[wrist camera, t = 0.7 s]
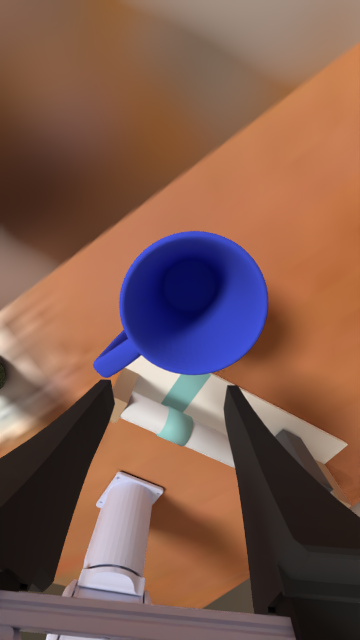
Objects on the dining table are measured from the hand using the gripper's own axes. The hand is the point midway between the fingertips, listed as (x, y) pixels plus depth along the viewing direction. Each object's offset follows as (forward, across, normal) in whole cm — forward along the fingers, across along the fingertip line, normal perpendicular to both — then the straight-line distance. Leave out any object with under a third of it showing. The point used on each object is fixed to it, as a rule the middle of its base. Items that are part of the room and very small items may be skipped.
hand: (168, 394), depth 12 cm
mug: (+11, 0, -3) cm, 11 cm away
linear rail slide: (+9, -7, +15) cm, 19 cm away
